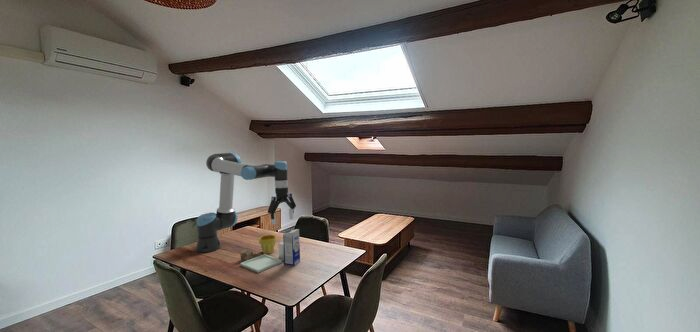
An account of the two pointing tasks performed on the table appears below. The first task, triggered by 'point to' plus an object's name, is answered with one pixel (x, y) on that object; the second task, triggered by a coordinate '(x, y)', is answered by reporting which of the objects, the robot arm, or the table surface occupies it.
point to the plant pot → (267, 243)
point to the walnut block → (246, 255)
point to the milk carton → (291, 247)
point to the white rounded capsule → (281, 251)
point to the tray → (261, 263)
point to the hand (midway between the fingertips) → (282, 221)
